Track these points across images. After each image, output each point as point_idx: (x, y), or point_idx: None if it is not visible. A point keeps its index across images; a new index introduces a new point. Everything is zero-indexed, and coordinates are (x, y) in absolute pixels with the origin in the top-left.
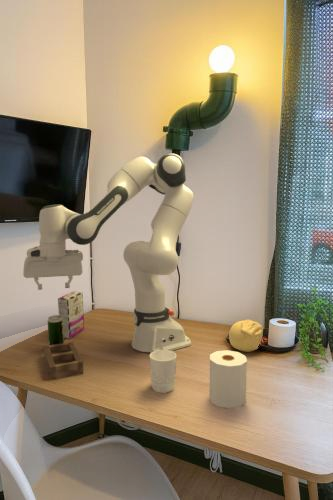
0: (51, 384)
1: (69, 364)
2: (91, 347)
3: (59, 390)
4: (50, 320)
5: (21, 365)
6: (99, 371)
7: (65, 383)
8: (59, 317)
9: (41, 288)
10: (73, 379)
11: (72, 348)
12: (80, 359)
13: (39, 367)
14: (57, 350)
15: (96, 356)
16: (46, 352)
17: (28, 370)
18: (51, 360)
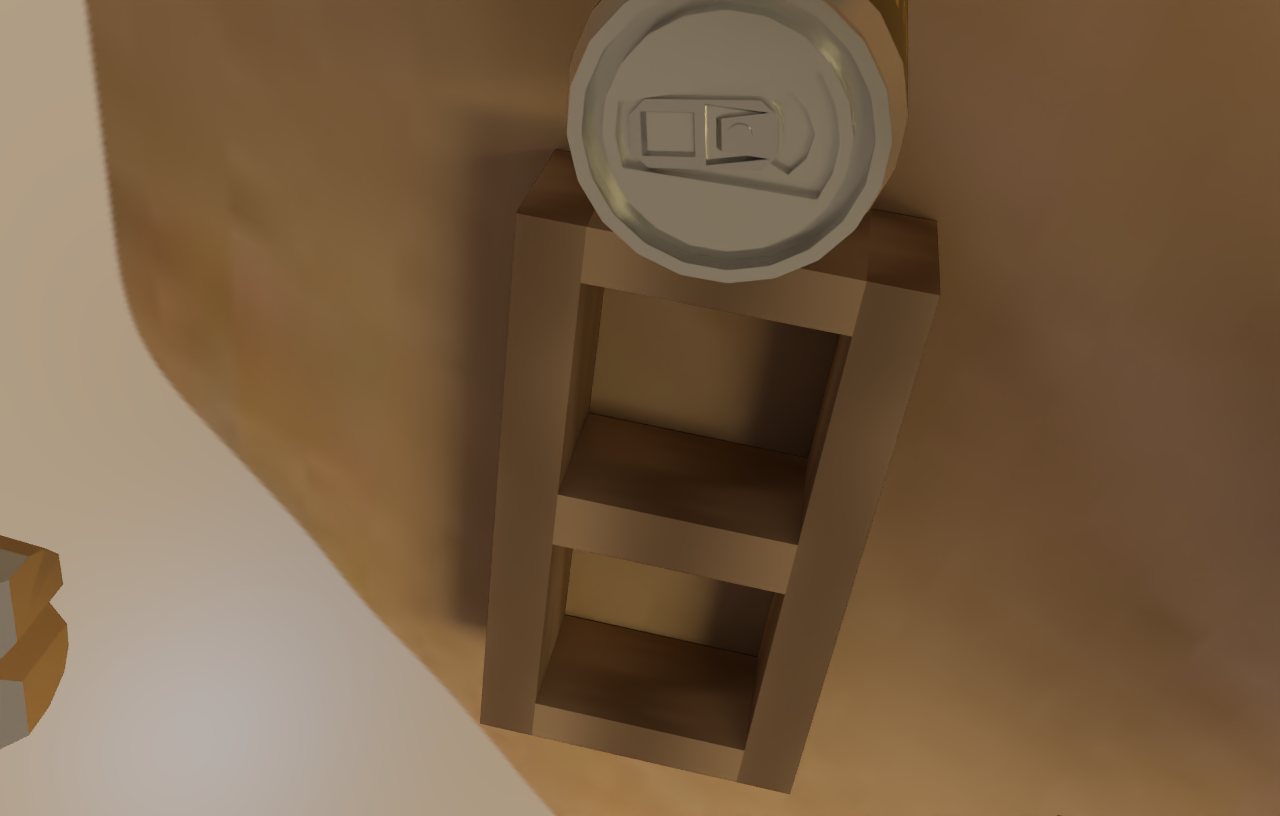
0: None
1: (660, 762)
2: (1247, 208)
3: (540, 784)
4: (602, 195)
5: (282, 218)
6: (946, 740)
7: None
8: (810, 203)
9: (12, 713)
10: None
11: (836, 488)
12: (792, 748)
13: (459, 372)
14: None
15: (1119, 482)
16: (512, 418)
17: (348, 372)
18: (522, 616)
